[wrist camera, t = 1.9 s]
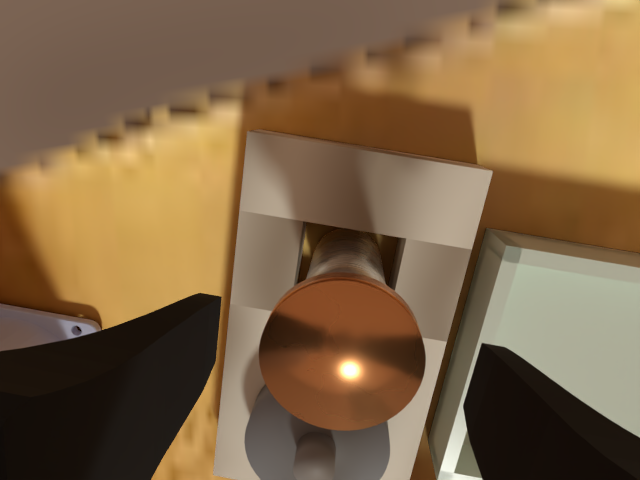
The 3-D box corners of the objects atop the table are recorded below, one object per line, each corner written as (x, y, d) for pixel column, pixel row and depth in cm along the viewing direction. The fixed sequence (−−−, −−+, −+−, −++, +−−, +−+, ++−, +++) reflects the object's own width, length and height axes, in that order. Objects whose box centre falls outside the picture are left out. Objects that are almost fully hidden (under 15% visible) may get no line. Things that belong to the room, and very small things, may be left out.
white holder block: (225, 444, 22) (192, 527, 18) (258, 129, 18) (226, 135, 13) (397, 476, 22) (408, 569, 18) (478, 164, 17) (520, 182, 13)
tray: (427, 439, 21) (436, 481, 19) (486, 227, 18) (506, 245, 16) (673, 484, 21) (714, 532, 19) (777, 276, 18) (843, 302, 15)
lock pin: (291, 297, 20) (250, 414, 12) (304, 204, 18) (268, 269, 11) (386, 314, 20) (406, 443, 12) (406, 221, 18) (443, 299, 11)
